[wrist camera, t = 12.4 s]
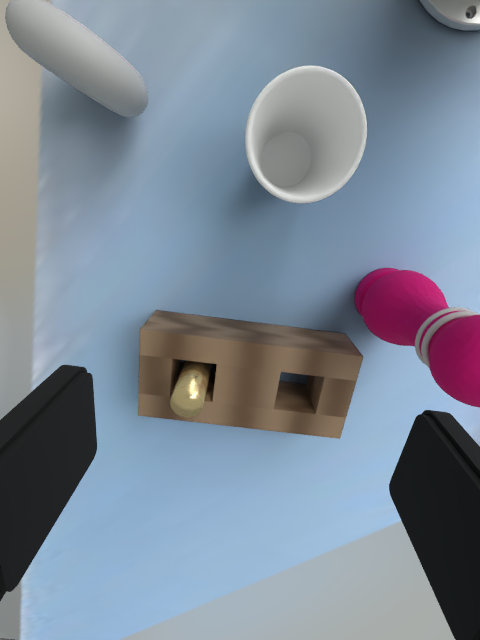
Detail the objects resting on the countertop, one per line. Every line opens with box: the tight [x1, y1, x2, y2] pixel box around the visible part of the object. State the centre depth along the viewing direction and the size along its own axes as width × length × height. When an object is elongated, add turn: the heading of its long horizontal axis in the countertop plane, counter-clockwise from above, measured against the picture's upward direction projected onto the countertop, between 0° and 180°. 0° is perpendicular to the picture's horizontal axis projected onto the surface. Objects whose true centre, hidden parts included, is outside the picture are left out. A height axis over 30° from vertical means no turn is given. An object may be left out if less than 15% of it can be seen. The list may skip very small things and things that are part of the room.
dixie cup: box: [245, 66, 367, 203], centre depth 26 cm, size 8×8×11 cm
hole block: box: [138, 310, 363, 439], centre depth 36 cm, size 22×10×6 cm, turn 83°
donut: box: [5, 0, 148, 117], centre depth 25 cm, size 10×3×10 cm, turn 60°
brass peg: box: [170, 360, 212, 417], centre depth 34 cm, size 3×3×10 cm
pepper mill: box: [355, 268, 480, 407], centre depth 26 cm, size 7×7×20 cm
